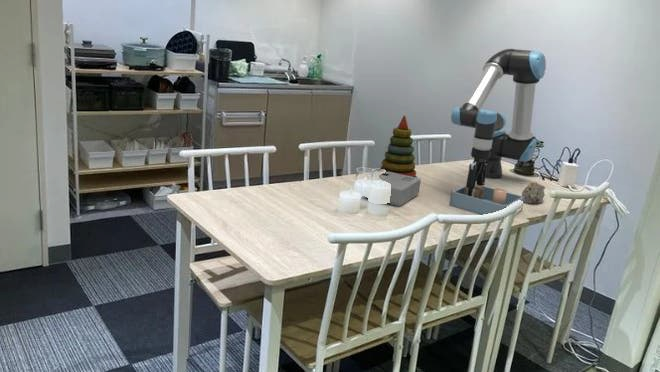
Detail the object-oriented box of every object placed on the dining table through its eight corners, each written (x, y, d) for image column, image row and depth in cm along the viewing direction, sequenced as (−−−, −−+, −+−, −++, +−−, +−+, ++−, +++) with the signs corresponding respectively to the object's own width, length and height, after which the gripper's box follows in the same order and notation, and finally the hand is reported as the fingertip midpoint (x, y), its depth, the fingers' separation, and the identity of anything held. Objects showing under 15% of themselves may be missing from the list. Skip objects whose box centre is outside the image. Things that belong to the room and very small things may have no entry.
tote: (469, 195, 241) (471, 183, 239) (521, 210, 227) (524, 196, 225) (449, 204, 226) (451, 191, 224) (504, 220, 212) (506, 206, 210)
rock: (531, 203, 232) (537, 181, 232) (518, 201, 237) (524, 179, 237) (546, 209, 239) (552, 187, 239) (533, 206, 245) (539, 185, 245)
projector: (419, 195, 236) (421, 178, 234) (400, 208, 218) (402, 189, 215) (384, 187, 244) (386, 170, 241) (363, 199, 225) (364, 181, 223)
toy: (374, 170, 268) (380, 110, 259) (413, 173, 269) (421, 113, 261) (378, 182, 249) (386, 117, 241) (421, 185, 251) (430, 121, 242)
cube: (469, 198, 233) (471, 185, 232) (482, 202, 230) (484, 188, 228) (462, 201, 229) (464, 187, 227) (475, 205, 225) (478, 191, 224)
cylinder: (493, 206, 226) (497, 187, 224) (505, 209, 223) (508, 190, 221) (489, 208, 222) (492, 190, 220) (500, 212, 220) (504, 193, 217)
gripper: (482, 143, 232) (473, 194, 239) (462, 149, 217) (454, 203, 224) (499, 147, 228) (490, 199, 234) (480, 153, 213) (471, 208, 220)
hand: (472, 201), depth 229 cm, fingers open, 6 cm apart
